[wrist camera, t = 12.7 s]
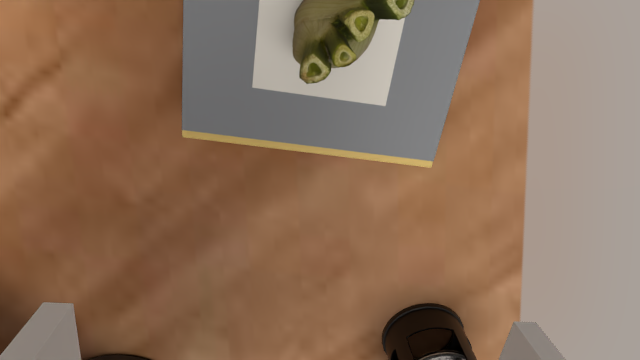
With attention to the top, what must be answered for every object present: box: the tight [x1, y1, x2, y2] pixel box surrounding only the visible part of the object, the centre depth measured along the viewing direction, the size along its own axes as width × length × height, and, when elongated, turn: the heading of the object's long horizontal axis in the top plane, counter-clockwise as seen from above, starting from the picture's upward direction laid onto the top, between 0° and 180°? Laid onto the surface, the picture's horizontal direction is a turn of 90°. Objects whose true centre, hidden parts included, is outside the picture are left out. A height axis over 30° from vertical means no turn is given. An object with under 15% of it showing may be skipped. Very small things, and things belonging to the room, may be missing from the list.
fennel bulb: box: [292, 0, 414, 84], centre depth 22 cm, size 6×5×12 cm
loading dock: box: [182, 0, 480, 168], centre depth 29 cm, size 20×17×6 cm
